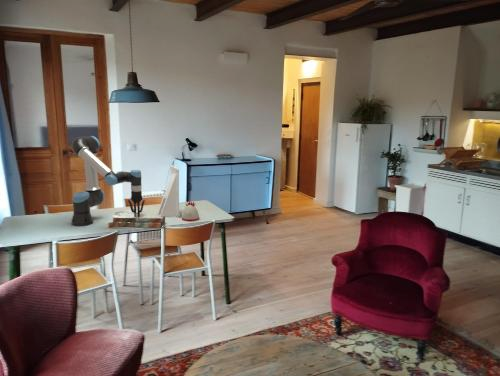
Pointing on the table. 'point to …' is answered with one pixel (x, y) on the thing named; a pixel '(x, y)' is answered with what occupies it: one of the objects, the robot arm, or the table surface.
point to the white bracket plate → (171, 196)
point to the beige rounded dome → (190, 212)
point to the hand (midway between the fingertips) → (137, 221)
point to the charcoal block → (143, 221)
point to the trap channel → (152, 222)
